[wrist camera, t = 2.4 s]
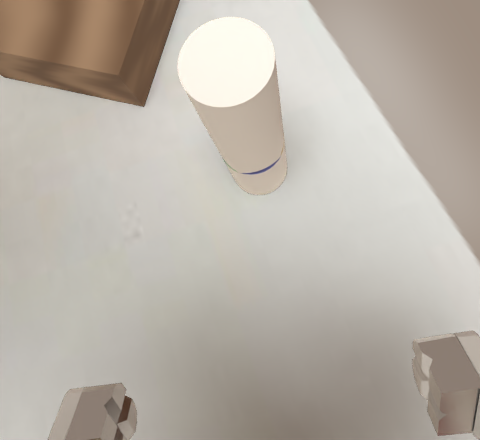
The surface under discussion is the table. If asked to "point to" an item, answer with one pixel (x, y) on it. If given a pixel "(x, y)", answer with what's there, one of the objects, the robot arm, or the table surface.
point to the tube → (237, 99)
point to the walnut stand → (86, 44)
